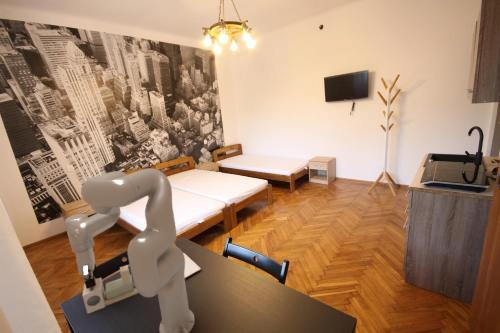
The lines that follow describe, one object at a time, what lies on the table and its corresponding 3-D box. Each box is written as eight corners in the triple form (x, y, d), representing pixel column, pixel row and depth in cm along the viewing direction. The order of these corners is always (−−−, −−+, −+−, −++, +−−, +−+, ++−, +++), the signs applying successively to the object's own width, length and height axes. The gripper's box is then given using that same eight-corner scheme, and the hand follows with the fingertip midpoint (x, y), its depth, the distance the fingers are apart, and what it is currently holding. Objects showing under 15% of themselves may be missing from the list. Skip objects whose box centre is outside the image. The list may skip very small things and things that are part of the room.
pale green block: (150, 288, 104) (148, 277, 103) (104, 306, 96) (101, 294, 94) (148, 278, 110) (146, 268, 109) (105, 295, 102) (102, 283, 100)
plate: (149, 272, 115) (149, 268, 115) (184, 255, 127) (183, 252, 127) (164, 292, 102) (164, 288, 101) (201, 271, 114) (201, 268, 113)
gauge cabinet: (104, 307, 95) (100, 289, 93) (87, 314, 92) (82, 295, 90) (105, 294, 102) (101, 277, 100) (89, 300, 99) (84, 282, 97)
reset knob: (96, 285, 95) (94, 279, 94) (87, 288, 93) (85, 282, 92) (96, 281, 97) (95, 275, 96) (88, 284, 96) (86, 278, 95)
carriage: (133, 291, 101) (129, 270, 98) (107, 301, 96) (102, 280, 94) (132, 282, 106) (128, 263, 104) (107, 291, 101) (102, 271, 99)
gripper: (74, 237, 99) (83, 271, 103) (68, 258, 84) (79, 297, 88) (95, 232, 102) (103, 265, 106) (92, 251, 88) (101, 288, 92)
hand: (92, 279), depth 97 cm, fingers open, 9 cm apart
